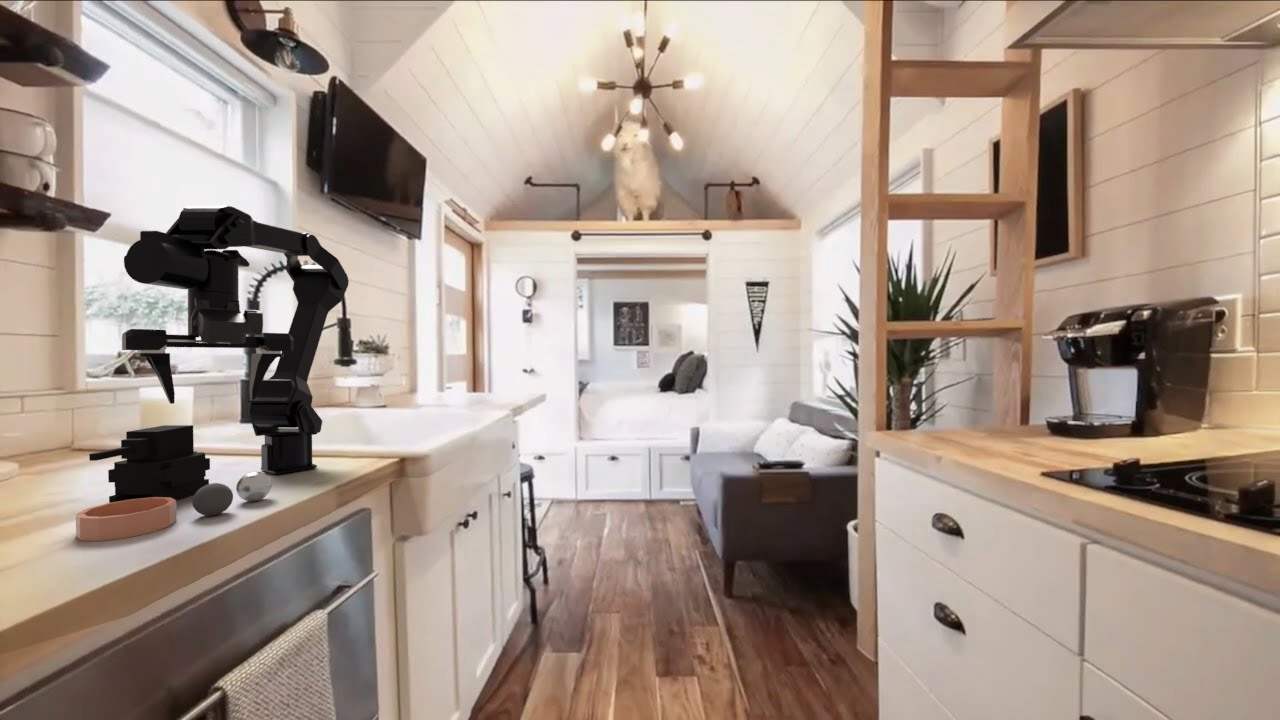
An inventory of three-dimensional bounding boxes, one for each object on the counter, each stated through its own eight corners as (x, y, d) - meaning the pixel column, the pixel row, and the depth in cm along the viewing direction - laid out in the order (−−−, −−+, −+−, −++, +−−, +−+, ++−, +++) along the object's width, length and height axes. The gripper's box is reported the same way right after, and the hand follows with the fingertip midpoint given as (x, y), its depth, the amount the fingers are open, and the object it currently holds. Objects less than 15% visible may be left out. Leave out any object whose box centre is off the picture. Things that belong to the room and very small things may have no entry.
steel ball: (265, 495, 76) (264, 467, 76) (277, 499, 74) (276, 471, 74) (231, 501, 73) (231, 472, 73) (243, 506, 70) (242, 477, 70)
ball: (226, 508, 70) (226, 478, 70) (238, 513, 67) (237, 482, 67) (188, 516, 66) (187, 484, 66) (199, 522, 64) (198, 489, 64)
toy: (62, 521, 65) (60, 440, 64) (163, 490, 79) (162, 423, 79) (125, 521, 65) (124, 440, 65) (214, 490, 79) (213, 423, 79)
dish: (163, 512, 68) (163, 493, 68) (184, 525, 63) (184, 504, 63) (70, 531, 61) (70, 509, 61) (86, 546, 56) (85, 523, 56)
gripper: (130, 281, 64) (130, 410, 64) (305, 295, 78) (305, 400, 78) (121, 289, 71) (121, 404, 71) (282, 300, 85) (283, 396, 85)
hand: (214, 401), depth 76 cm, fingers open, 9 cm apart
